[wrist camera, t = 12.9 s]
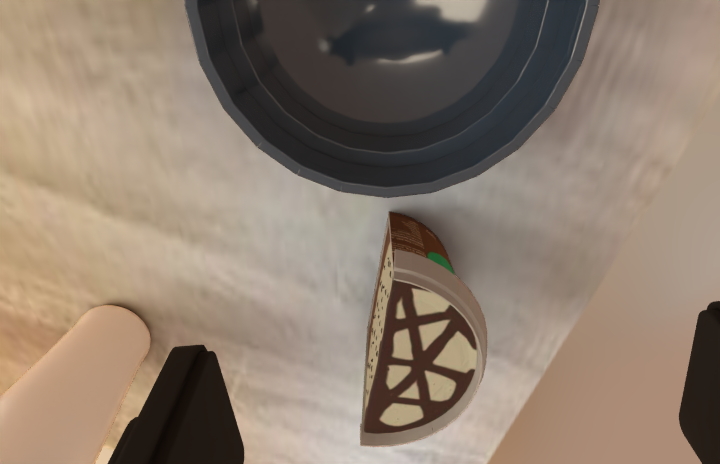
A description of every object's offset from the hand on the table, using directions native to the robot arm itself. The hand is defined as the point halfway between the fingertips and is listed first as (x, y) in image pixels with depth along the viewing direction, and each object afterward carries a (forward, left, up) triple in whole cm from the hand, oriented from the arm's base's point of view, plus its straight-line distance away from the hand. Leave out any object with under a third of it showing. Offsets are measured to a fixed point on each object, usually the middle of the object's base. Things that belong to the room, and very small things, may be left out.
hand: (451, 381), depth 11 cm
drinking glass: (-23, -14, -25) cm, 36 cm away
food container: (0, -12, -25) cm, 28 cm away
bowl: (0, +6, -24) cm, 25 cm away
